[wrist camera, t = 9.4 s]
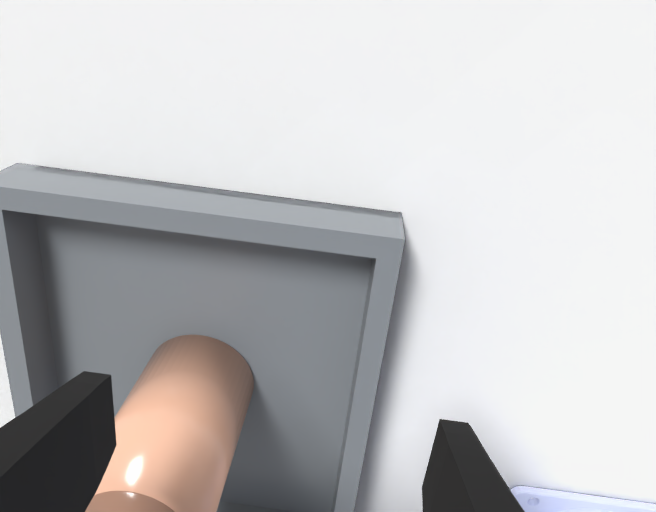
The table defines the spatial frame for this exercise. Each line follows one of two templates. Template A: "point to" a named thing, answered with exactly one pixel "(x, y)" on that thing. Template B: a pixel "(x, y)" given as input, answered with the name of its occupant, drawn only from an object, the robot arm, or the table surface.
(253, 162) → the table surface
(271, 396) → the tray
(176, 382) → the peach cylinder
